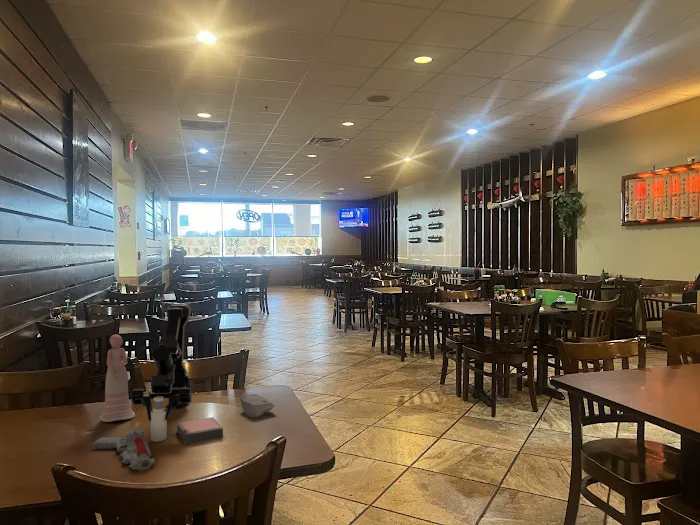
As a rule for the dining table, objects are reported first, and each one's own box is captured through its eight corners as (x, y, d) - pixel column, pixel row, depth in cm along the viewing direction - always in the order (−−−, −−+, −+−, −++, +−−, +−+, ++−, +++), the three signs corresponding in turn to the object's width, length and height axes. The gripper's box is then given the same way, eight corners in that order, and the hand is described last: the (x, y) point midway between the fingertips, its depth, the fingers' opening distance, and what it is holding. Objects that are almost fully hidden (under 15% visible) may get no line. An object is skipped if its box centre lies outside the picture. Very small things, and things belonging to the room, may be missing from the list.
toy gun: (97, 470, 138) (156, 456, 145) (91, 436, 161) (143, 426, 168) (98, 482, 138) (156, 468, 145) (92, 447, 161) (143, 437, 168)
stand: (177, 431, 172) (177, 422, 172) (212, 425, 178) (212, 416, 178) (185, 444, 162) (185, 434, 162) (223, 437, 168) (223, 427, 168)
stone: (276, 414, 192) (276, 398, 192) (255, 420, 185) (255, 403, 185) (256, 406, 201) (256, 391, 201) (235, 411, 195) (235, 396, 195)
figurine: (114, 410, 194) (114, 331, 193) (144, 412, 191) (143, 332, 190) (89, 421, 181) (88, 337, 180) (121, 424, 179) (120, 339, 177)
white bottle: (147, 440, 165) (147, 398, 165) (159, 435, 169) (159, 394, 169) (158, 442, 163) (158, 400, 162) (169, 437, 167) (169, 396, 167)
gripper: (131, 365, 168) (121, 409, 157) (190, 363, 171) (185, 406, 160) (137, 382, 176) (129, 425, 165) (193, 380, 179) (189, 423, 168)
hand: (157, 420), depth 165 cm, fingers closed on white bottle, 5 cm apart
